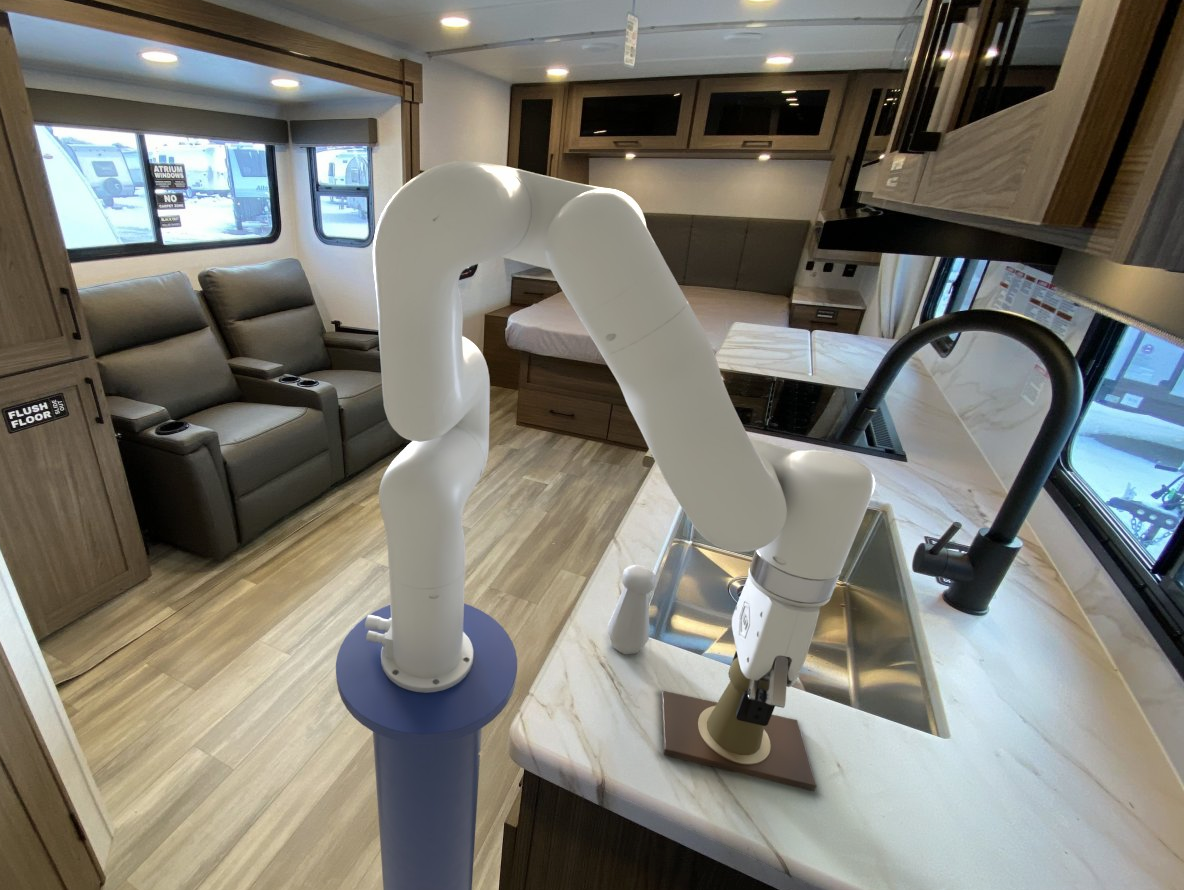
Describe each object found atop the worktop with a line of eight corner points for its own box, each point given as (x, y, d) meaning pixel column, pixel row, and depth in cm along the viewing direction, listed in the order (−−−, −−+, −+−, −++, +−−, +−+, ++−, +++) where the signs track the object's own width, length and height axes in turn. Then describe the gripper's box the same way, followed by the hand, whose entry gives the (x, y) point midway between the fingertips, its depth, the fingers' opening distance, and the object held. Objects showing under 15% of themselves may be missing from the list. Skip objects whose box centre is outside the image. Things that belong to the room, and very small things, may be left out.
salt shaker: (650, 640, 83) (668, 567, 77) (639, 665, 79) (657, 590, 73) (612, 625, 86) (625, 553, 80) (599, 648, 82) (612, 575, 76)
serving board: (663, 754, 67) (665, 748, 66) (660, 695, 74) (662, 688, 74) (814, 791, 63) (817, 784, 63) (795, 725, 71) (798, 718, 70)
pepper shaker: (724, 758, 65) (750, 689, 60) (697, 714, 70) (718, 647, 65) (772, 752, 66) (801, 684, 61) (742, 709, 71) (766, 643, 66)
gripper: (739, 522, 65) (704, 641, 74) (768, 620, 51) (720, 755, 59) (811, 533, 64) (767, 654, 72) (863, 638, 49) (800, 774, 57)
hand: (746, 698), depth 66 cm, fingers open, 5 cm apart
